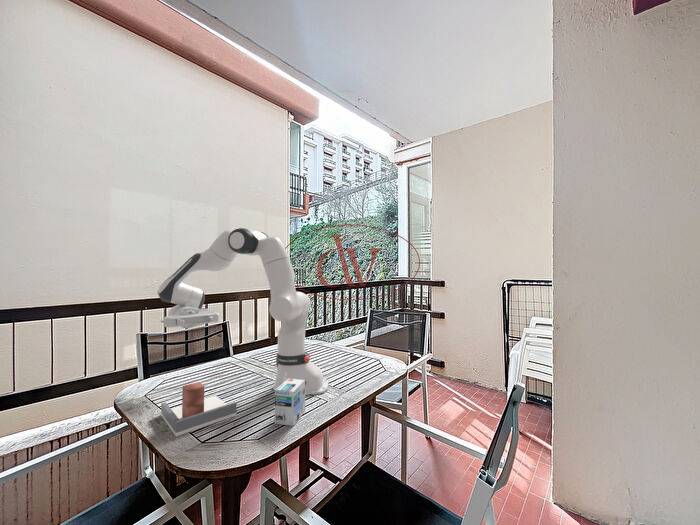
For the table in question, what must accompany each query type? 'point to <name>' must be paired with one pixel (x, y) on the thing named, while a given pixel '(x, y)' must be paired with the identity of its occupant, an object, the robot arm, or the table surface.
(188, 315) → the robot arm
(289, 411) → the light bulb box
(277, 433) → the table surface
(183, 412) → the brick-red block
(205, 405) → the tray
